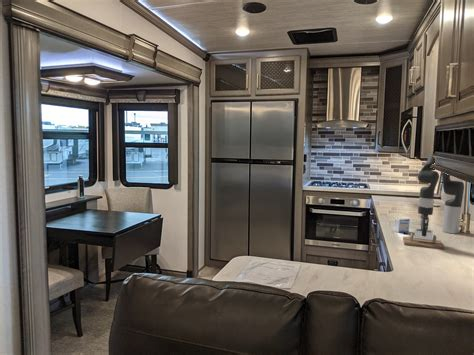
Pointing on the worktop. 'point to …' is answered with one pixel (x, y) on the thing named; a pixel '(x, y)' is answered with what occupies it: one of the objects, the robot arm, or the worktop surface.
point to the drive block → (419, 235)
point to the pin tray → (423, 242)
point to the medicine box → (401, 225)
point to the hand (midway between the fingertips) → (423, 234)
